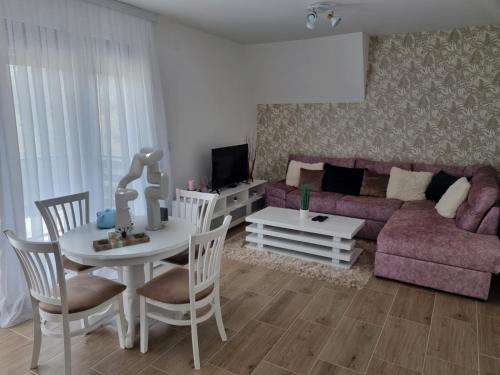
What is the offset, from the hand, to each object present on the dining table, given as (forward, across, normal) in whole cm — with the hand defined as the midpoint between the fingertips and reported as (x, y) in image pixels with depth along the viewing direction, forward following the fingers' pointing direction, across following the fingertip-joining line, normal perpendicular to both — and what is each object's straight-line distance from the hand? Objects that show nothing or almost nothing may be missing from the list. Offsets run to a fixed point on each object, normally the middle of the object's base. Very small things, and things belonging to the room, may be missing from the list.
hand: (124, 237), depth 233 cm
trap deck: (+4, +2, 0) cm, 4 cm away
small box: (+4, -36, -37) cm, 52 cm away
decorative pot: (+4, +2, -43) cm, 44 cm away
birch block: (+1, +7, 0) cm, 7 cm away
